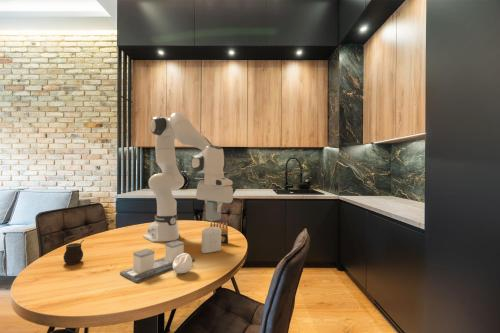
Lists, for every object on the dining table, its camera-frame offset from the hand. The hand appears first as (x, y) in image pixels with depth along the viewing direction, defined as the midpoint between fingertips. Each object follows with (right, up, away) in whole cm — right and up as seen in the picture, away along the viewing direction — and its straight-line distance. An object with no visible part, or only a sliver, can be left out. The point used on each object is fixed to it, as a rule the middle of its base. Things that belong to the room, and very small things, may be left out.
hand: (213, 210), depth 116 cm
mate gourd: (-61, -22, -4) cm, 65 cm away
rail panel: (-22, -23, -8) cm, 32 cm away
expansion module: (0, -4, 0) cm, 4 cm away
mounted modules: (-22, -21, -8) cm, 31 cm away
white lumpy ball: (-11, -23, -13) cm, 29 cm away
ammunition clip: (-1, -23, +28) cm, 36 cm away
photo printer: (-3, -23, +13) cm, 27 cm away
